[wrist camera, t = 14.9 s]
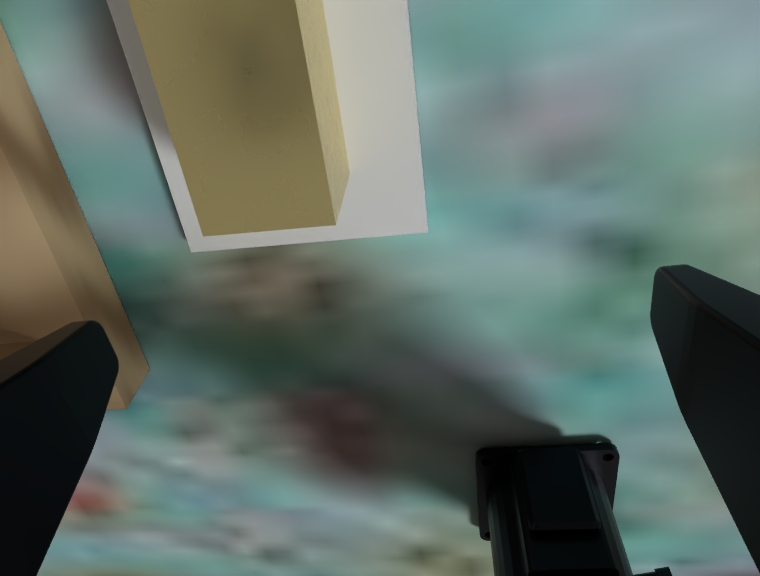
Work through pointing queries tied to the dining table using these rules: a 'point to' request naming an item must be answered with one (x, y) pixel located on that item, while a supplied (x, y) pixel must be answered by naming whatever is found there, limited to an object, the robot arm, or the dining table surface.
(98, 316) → the plane body
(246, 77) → the olive wooden block
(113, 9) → the mat
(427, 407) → the dining table surface
